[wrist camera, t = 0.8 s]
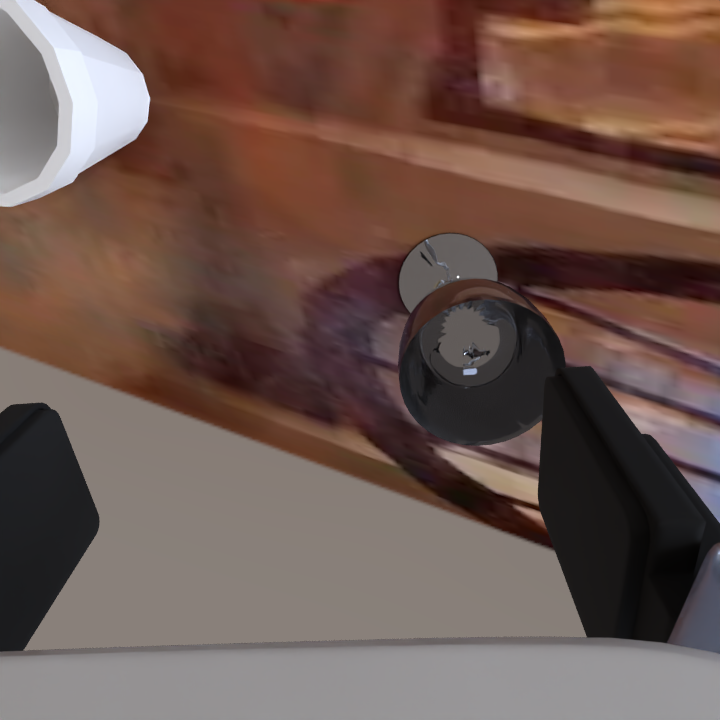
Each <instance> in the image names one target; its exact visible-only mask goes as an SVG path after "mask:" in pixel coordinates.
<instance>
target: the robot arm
mask: <svg viewBox="0 0 720 720" xmlns="http://www.w3.org/2000/svg"><path fill="white" fill-rule="evenodd" d="M538 501H539V507H540V511H541V514H542V517H543V520H544V522H545V525H546V528H547V531H548V533H549V536H550V539H551V541H552V544H553V547H554V549H555V552H556V555H557V557H558V560H559V563H560V565H561V568H562V571H563V573H564V576H565V579H566V582H567V584H568V587H569V590H570V592H571V595H572V598H573V600H574V603H575V606H576V609H577V611H578V614H579V617H580V619H581V622H582V625H583V627H584V630H585V633H586V636H587V637H586V638H585V637H582V638H581V637H475V638H474V637H471V638H414V639H377V640H342V641H341V640H340V641H302V642H265V643H234V644H203V645H171V646H145V647H144V646H141V647H113V648H112V647H111V648H81V649H55V650H28V651H23V649H24V648H25V647H26V645H27V644H28V642H29V640H30V639H31V637H32V636H33V634H34V632H35V631H36V629H37V628H38V626H39V625H40V623H41V621H42V620H43V618H44V617H45V615H46V613H47V612H48V610H49V609H50V607H51V605H52V604H53V602H54V600H55V599H56V597H57V596H58V594H59V592H60V591H61V589H62V588H63V586H64V585H65V583H66V581H67V580H68V578H69V577H70V575H71V574H72V572H73V570H74V569H75V567H76V566H77V564H78V563H79V561H80V559H81V558H82V556H83V555H84V553H85V551H86V550H87V548H88V547H89V545H90V544H91V542H92V540H93V539H94V537H95V536H96V534H97V531H98V528H99V515H98V512H97V509H96V507H95V504H94V502H93V499H92V497H91V494H90V492H89V489H88V486H87V484H86V481H85V479H84V477H83V474H82V471H81V469H80V466H79V464H78V461H77V459H76V456H75V454H74V451H73V449H72V446H71V443H70V441H69V438H68V436H67V433H66V431H65V428H64V426H63V423H62V421H61V418H60V416H59V414H58V413H57V412H56V411H55V410H53V409H51V408H50V407H49V406H48V405H47V404H44V403H29V404H15V405H10V406H9V407H7V408H6V409H5V410H4V411H2V412H1V413H0V720H720V523H719V522H718V521H717V519H716V518H715V517H714V515H713V514H712V513H711V511H710V510H709V509H708V508H707V506H706V505H705V504H704V502H703V501H702V500H701V498H700V497H699V496H698V494H697V493H696V492H695V491H694V489H693V488H692V487H691V485H690V484H689V483H688V481H687V480H686V479H685V478H684V476H683V475H682V474H681V472H680V471H679V470H678V468H677V467H676V466H675V465H674V463H673V462H672V461H671V459H670V458H669V457H668V455H667V454H666V453H665V451H664V450H663V449H662V448H661V446H660V445H659V444H658V442H657V441H656V440H655V439H654V438H653V437H652V436H651V435H648V434H641V433H640V432H639V430H638V429H637V428H636V426H635V425H634V423H633V422H632V421H631V419H630V418H629V417H628V415H627V414H626V413H625V411H624V410H623V409H622V407H621V406H620V405H619V403H618V402H617V400H616V399H615V398H614V396H613V395H612V394H611V392H610V391H609V390H608V388H607V387H606V386H605V384H604V383H603V382H602V380H601V379H600V378H599V376H598V375H597V373H596V372H595V371H594V369H593V368H592V367H591V366H585V367H570V368H558V369H557V370H556V373H555V376H552V377H547V378H546V380H545V385H544V401H543V418H542V434H541V450H540V467H539V483H538Z"/></svg>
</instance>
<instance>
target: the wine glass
mask: <svg viewBox="0 0 720 720" xmlns="http://www.w3.org/2000/svg"><path fill="white" fill-rule="evenodd" d="M399 292H400V295H401V299H402V301H403V303H404V305H405V307H406V308H407V309H408V311H409V312H410V313H411V314H410V316H409V318H408V320H407V322H406V324H405V327H404V331H403V334H402V337H401V341H400V345H399V358H398V371H399V382H400V390H401V393H402V396H403V400H404V403H405V405H406V406H407V408H408V410H409V412H410V414H411V415H412V416H413V417H414V418H415V420H416V421H417V422H418V423H419V424H420V425H421V426H422V427H424V428H425V429H426V430H427V431H429V432H430V433H432V434H434V435H435V436H437V437H439V438H441V439H444V440H447V441H449V442H453V443H457V444H462V445H474V446H479V445H491V444H495V443H500V442H504V441H507V440H509V439H512V438H515V437H517V436H519V435H521V434H522V433H524V432H526V431H528V430H529V429H531V428H532V427H533V426H535V425H536V424H537V423H538V422H540V421H541V420H542V418H543V401H544V385H545V380H546V378H547V377H552V376H555V373H556V370H557V369H558V368H565V357H564V351H563V348H562V346H561V343H560V340H559V338H558V336H557V334H556V333H555V331H554V330H553V328H552V327H551V325H550V324H549V322H548V321H547V319H546V318H545V317H544V315H543V314H542V313H541V312H540V311H539V310H538V309H537V308H536V307H535V306H534V305H533V304H532V303H531V302H530V301H529V300H528V299H527V298H526V297H524V296H523V295H521V294H520V293H518V292H517V291H515V290H514V289H512V288H511V287H509V286H506V285H504V284H502V283H499V282H497V269H496V264H495V262H494V259H493V257H492V255H491V254H490V252H489V251H488V250H487V249H486V248H485V247H484V246H483V245H482V244H481V243H480V242H478V241H477V240H475V239H474V238H471V237H469V236H467V235H462V234H458V233H445V234H439V235H435V236H432V237H430V238H428V239H426V240H424V241H422V242H421V243H420V244H418V245H417V246H416V247H415V248H414V249H413V250H412V251H411V252H410V253H409V254H408V256H407V257H406V259H405V260H404V263H403V265H402V267H401V271H400V274H399Z"/></svg>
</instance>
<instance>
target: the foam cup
mask: <svg viewBox="0 0 720 720" xmlns="http://www.w3.org/2000/svg"><path fill="white" fill-rule="evenodd" d="M149 102H150V97H149V94H148V90H147V87H146V84H145V80H144V77H143V74H142V73H141V71H140V70H139V69H138V67H137V66H136V65H135V64H134V62H133V61H132V60H131V58H130V57H129V56H128V55H127V53H125V52H123V51H122V50H120V49H118V48H117V47H115V46H113V45H111V44H110V43H108V42H106V41H104V40H103V39H101V38H99V37H97V36H95V35H93V34H92V33H90V32H88V31H86V30H84V29H82V28H80V27H78V26H76V25H74V24H72V23H70V22H69V21H67V20H65V19H63V18H61V17H59V16H57V15H55V14H53V13H51V12H49V11H48V10H47V8H46V7H45V6H43V5H41V4H40V3H38V2H36V1H34V0H0V206H4V207H13V206H16V205H19V204H22V203H26V202H29V201H32V200H36V199H39V198H41V197H43V196H45V195H47V194H49V193H51V192H54V191H56V190H58V189H60V188H62V187H64V186H66V185H68V184H70V183H72V182H74V180H75V179H76V177H77V176H78V174H79V173H81V172H82V171H84V170H86V169H87V168H89V167H91V166H92V165H94V164H95V163H97V162H99V161H100V160H102V159H104V158H105V157H107V156H109V155H110V154H112V153H114V152H115V151H117V150H119V149H120V148H122V147H124V146H125V145H127V144H129V143H130V142H132V141H133V140H134V139H136V138H137V136H138V135H139V133H140V132H141V130H142V129H143V127H144V126H145V124H146V123H147V121H148V111H149Z"/></svg>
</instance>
